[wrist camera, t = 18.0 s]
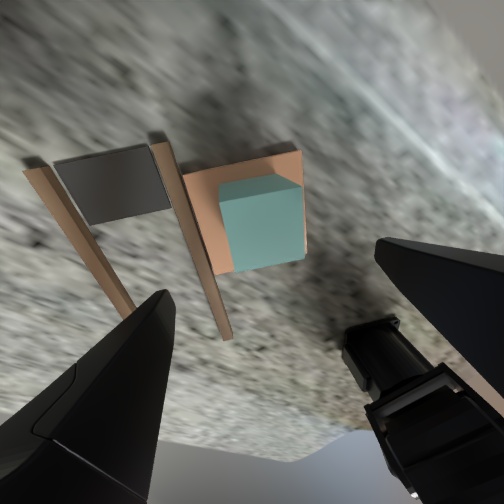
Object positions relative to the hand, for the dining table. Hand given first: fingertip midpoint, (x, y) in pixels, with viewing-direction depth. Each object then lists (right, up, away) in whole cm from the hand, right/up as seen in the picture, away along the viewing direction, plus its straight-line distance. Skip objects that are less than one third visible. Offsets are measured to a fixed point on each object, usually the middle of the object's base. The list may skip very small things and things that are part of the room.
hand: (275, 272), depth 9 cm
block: (-1, +4, +6) cm, 8 cm away
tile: (-1, +4, +7) cm, 8 cm away
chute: (-9, -1, +8) cm, 12 cm away
